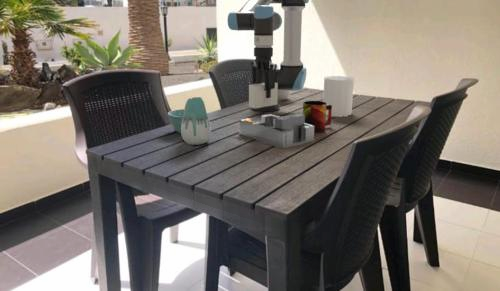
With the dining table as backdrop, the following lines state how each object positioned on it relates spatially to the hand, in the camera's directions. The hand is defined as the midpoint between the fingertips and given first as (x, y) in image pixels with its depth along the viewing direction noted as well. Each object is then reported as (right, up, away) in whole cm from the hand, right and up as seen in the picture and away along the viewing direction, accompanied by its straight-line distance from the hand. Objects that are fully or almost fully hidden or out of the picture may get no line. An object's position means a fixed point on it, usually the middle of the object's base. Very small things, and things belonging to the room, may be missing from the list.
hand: (262, 104), depth 168 cm
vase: (-26, -16, -9) cm, 32 cm away
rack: (+5, -13, -2) cm, 14 cm away
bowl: (-32, -11, +7) cm, 35 cm away
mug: (+23, -10, +9) cm, 27 cm away
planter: (+11, +10, +75) cm, 76 cm away
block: (0, 0, 0) cm, 1 cm away
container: (+39, -1, +39) cm, 55 cm away
